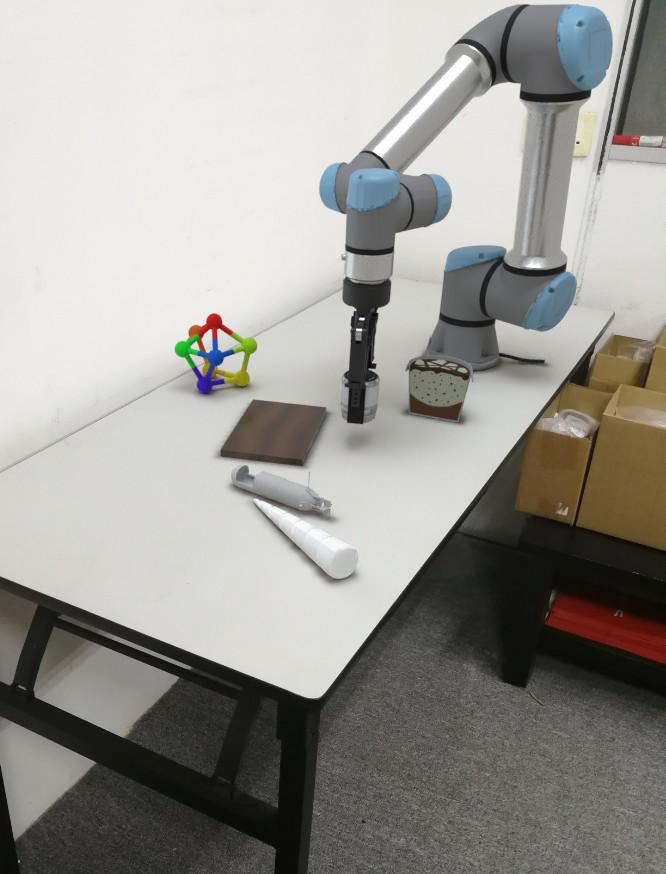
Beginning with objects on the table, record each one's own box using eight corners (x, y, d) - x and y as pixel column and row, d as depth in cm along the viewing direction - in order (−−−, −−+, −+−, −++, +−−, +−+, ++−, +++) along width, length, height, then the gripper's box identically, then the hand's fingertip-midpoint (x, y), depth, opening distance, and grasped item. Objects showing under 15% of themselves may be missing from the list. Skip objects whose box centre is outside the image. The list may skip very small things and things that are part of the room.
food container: (474, 411, 160) (482, 360, 155) (466, 424, 155) (474, 371, 150) (410, 400, 164) (415, 349, 159) (400, 412, 160) (406, 360, 154)
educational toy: (169, 399, 166) (159, 322, 158) (199, 377, 176) (191, 303, 169) (242, 405, 160) (235, 326, 153) (269, 382, 170) (263, 306, 163)
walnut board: (326, 413, 159) (326, 407, 158) (302, 466, 141) (302, 459, 140) (252, 405, 162) (253, 399, 161) (220, 456, 143) (220, 449, 143)
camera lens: (382, 413, 147) (386, 370, 143) (366, 427, 142) (369, 382, 138) (350, 405, 150) (352, 363, 145) (333, 418, 145) (335, 374, 141)
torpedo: (224, 489, 134) (223, 451, 130) (242, 477, 137) (242, 440, 134) (321, 525, 125) (323, 485, 121) (338, 512, 128) (341, 473, 125)
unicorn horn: (275, 496, 132) (276, 468, 129) (359, 575, 114) (362, 545, 112) (247, 503, 130) (248, 475, 127) (329, 585, 112) (331, 554, 110)
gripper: (352, 259, 142) (345, 390, 154) (333, 294, 126) (326, 436, 139) (398, 262, 140) (387, 394, 153) (384, 297, 125) (372, 441, 137)
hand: (358, 413), depth 146 cm, fingers closed on camera lens, 6 cm apart
